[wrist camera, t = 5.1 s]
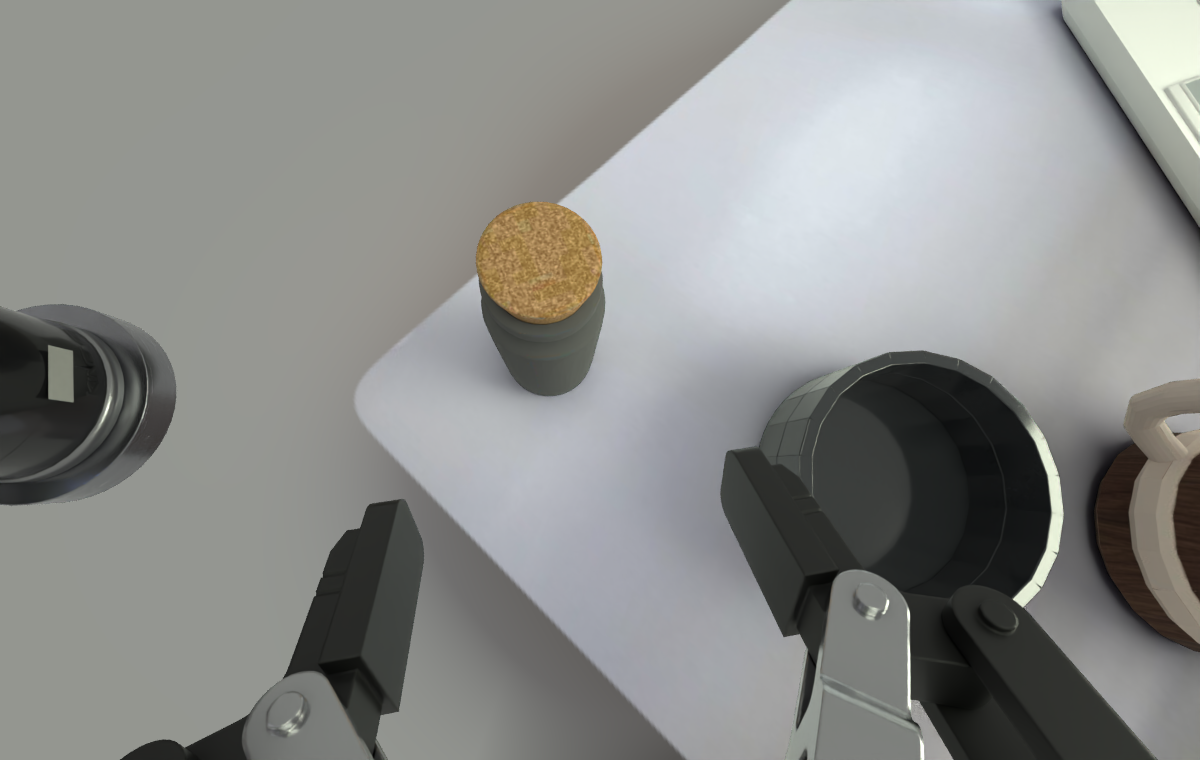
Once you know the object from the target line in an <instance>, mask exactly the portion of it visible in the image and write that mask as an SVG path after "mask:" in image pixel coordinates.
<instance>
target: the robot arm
mask: <svg viewBox="0 0 1200 760" xmlns="http://www.w3.org/2000/svg"><path fill="white" fill-rule="evenodd" d="M123 398H124V378H123V373H122V369H121V366H120V364H119V361H118V359H117V357H116V356H115V354H114V353H113V351H112V350H111V349H110V347H109V346H108V345H107V344H106V343H105V342H104V341H102V340H101V339H100V338H98V337H97V336H95V335H94V334H92V333H90V332H88V331H86V330H84V329H81V328H78V327H75V326H71V325H68V324H64V323H61V322H57V321H53V320H46V319H41V318H37V317H34V316H31V315H27V314H24V313H20V312H17V311H13V310H10V309H7V308H4V307H1V306H0V483H15V482H31V481H37V480H41V479H46V478H49V477H52V476H55V475H57V474H60V473H62V472H64V471H66V470H68V469H70V468H72V467H74V466H75V465H77V464H79V463H80V462H81V461H83V460H84V459H86V458H87V457H88V456H89V455H90V454H92V453H93V452H94V451H95V450H96V449H97V448H98V447H99V446H100V445H101V443H102V442H103V441H104V440H105V439H106V437H107V436H108V434H109V433H110V432H111V430H112V428H113V427H114V425H115V423H116V421H117V418H118V416H119V413H120V411H121V407H122V403H123ZM721 502H722V507H723V510H724V513H725V516H726V518H727V520H728V522H729V524H730V526H731V528H732V530H733V532H734V534H735V536H736V539H737V541H738V543H739V545H740V547H741V549H742V551H743V553H744V555H745V557H746V559H747V561H748V564H749V566H750V568H751V570H752V572H753V574H754V576H755V578H756V580H757V582H758V584H759V586H760V589H761V591H762V593H763V595H764V597H765V599H766V601H767V603H768V605H769V607H770V609H771V611H772V614H773V616H774V618H775V620H776V622H777V624H778V626H779V628H780V630H781V632H782V634H783V636H784V637H787V636H792V635H797V634H800V635H801V637H802V639H803V641H804V643H805V645H806V650H805V654H804V660H803V666H802V672H801V678H800V684H799V690H798V696H797V702H796V708H795V714H794V720H793V726H792V731H791V736H790V741H789V745H788V749H787V752H786V756H785V760H924V748H923V737H922V732H921V729H920V727H919V725H918V724H917V723H916V722H914V721H913V720H912V717H911V710H910V699H912V700H918V701H920V703H921V705H922V707H923V708H924V710H925V712H926V713H927V715H928V717H929V718H930V720H931V722H932V724H933V725H934V727H935V729H936V730H937V732H938V734H939V735H940V737H941V739H942V741H943V742H944V744H945V746H946V747H947V749H948V751H949V752H950V754H951V756H952V758H953V759H954V760H1157V759H1156V757H1155V756H1154V755H1153V754H1152V753H1151V752H1150V751H1149V749H1148V748H1147V747H1146V746H1145V745H1144V744H1143V743H1142V741H1141V740H1140V739H1139V738H1138V737H1137V736H1136V735H1135V734H1134V732H1133V731H1132V730H1131V729H1130V728H1129V727H1128V726H1127V724H1126V723H1125V722H1124V721H1123V720H1122V719H1121V718H1120V716H1119V715H1118V714H1117V713H1116V712H1115V711H1114V710H1113V708H1112V707H1111V706H1110V705H1109V704H1108V703H1107V702H1106V701H1105V699H1104V698H1103V697H1102V696H1101V695H1100V694H1099V693H1098V691H1097V690H1096V689H1095V688H1094V687H1093V686H1092V685H1091V683H1090V682H1089V681H1088V680H1087V679H1086V678H1085V677H1084V675H1083V674H1082V673H1081V672H1080V671H1079V670H1078V669H1077V667H1076V666H1075V665H1074V664H1073V663H1072V662H1071V661H1070V660H1069V658H1068V657H1067V656H1066V655H1065V654H1064V653H1063V652H1062V650H1061V649H1060V648H1059V647H1058V646H1057V645H1056V644H1055V642H1054V641H1053V640H1052V639H1051V638H1050V637H1049V636H1048V634H1047V633H1046V632H1045V631H1044V630H1043V629H1042V628H1041V626H1040V625H1039V624H1038V623H1037V622H1036V621H1035V620H1034V619H1033V617H1032V616H1031V615H1030V614H1029V613H1028V612H1027V611H1026V610H1025V609H1024V608H1023V607H1022V606H1021V605H1020V604H1018V603H1017V602H1016V601H1014V600H1013V599H1011V598H1010V597H1008V596H1007V595H1005V594H1003V593H1001V592H999V591H997V590H994V589H991V588H989V587H985V586H980V585H966V586H962V587H960V588H958V589H957V590H956V591H955V592H954V594H953V595H952V597H951V598H950V599H948V598H941V597H934V596H926V595H919V594H912V593H906V592H902V591H899V590H897V589H896V588H895V587H894V586H893V585H892V584H891V583H890V582H888V581H887V580H885V579H884V578H882V577H880V576H878V575H876V574H874V573H871V572H868V571H866V570H865V569H864V568H863V567H862V565H861V564H860V563H859V561H858V560H857V559H856V557H855V556H854V554H853V553H852V551H851V550H850V549H849V547H848V546H847V544H846V543H845V541H844V540H843V539H842V537H841V536H840V534H839V533H838V531H837V530H836V529H835V527H834V526H833V524H832V523H831V522H830V520H829V519H828V517H827V516H826V514H825V513H824V512H822V511H821V507H820V506H819V504H818V503H817V502H816V500H815V499H814V497H813V498H812V496H811V493H810V492H809V490H808V489H807V487H806V486H805V484H804V483H803V482H802V480H801V479H800V477H798V476H797V475H796V474H794V473H793V472H792V471H790V470H789V469H788V468H786V467H785V466H784V465H782V464H776V465H771V464H770V462H769V461H768V459H767V458H766V456H765V455H764V453H763V452H762V450H761V449H760V448H759V447H749V448H743V449H736V450H730V451H728V452H727V453H726V457H725V464H724V471H723V478H722V485H721ZM423 563H424V548H423V542H422V538H421V536H420V533H419V531H418V528H417V526H416V524H415V521H414V519H413V517H412V514H411V512H410V509H409V507H408V505H407V503H406V501H405V500H404V499H399V500H393V501H387V502H379V503H373V504H370V505H369V506H368V507H367V509H366V511H365V515H364V518H363V521H362V524H361V527H360V529H354V530H347V531H346V532H345V534H344V535H343V536H342V537H341V539H340V540H339V541H338V542H337V544H336V545H335V546H334V548H333V549H332V550H331V551H330V554H329V557H328V560H327V562H326V565H325V568H324V571H323V578H321V579H320V582H319V585H318V587H317V590H316V596H315V597H314V598H313V601H312V604H311V607H310V610H309V612H308V615H307V618H306V621H305V623H304V626H303V629H302V632H301V635H300V637H299V640H298V643H297V645H296V648H295V651H294V654H293V657H292V659H291V662H290V665H289V667H288V670H287V672H286V674H285V676H284V677H283V679H282V680H281V681H279V682H278V683H276V684H275V685H274V686H273V687H272V688H270V689H269V690H268V691H267V692H266V693H265V694H264V695H263V696H262V697H261V699H260V700H259V701H258V702H257V703H256V704H255V706H254V708H253V709H252V711H251V712H250V714H248V715H247V716H246V717H244V718H242V719H241V720H239V721H237V722H235V723H233V724H231V725H229V726H227V727H225V728H223V729H221V730H219V731H217V732H215V733H213V734H211V735H209V736H207V737H205V738H203V739H201V740H199V741H197V742H195V743H194V744H191V745H189V746H187V747H185V748H184V747H182V746H181V745H180V744H178V743H177V742H175V741H172V740H158V741H154V742H150V743H148V744H145V745H143V746H141V747H139V748H137V749H135V750H134V751H132V752H130V753H129V754H127V755H126V756H124V757H123V758H122V759H120V760H388V759H387V757H386V756H385V754H384V752H383V750H382V748H381V746H380V745H379V743H378V741H377V739H376V736H377V731H378V725H379V720H380V715H384V714H389V713H394V712H398V711H399V706H400V701H401V695H402V689H403V683H404V677H405V671H406V665H407V659H408V653H409V647H410V641H411V635H412V629H413V623H414V617H415V611H416V605H417V599H418V592H419V587H420V581H421V575H422V569H423Z"/></svg>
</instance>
